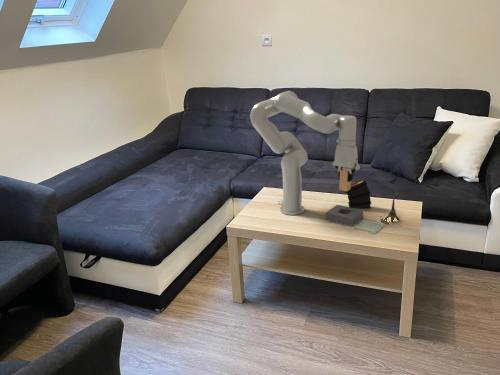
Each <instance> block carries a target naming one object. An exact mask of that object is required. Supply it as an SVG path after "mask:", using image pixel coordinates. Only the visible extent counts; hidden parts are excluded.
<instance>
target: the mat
mask: <svg viewBox="0 0 500 375" xmlns="http://www.w3.org/2000/svg"><path fill="white" fill-rule="evenodd" d="M384 226H385V224H384V223H378V222H373V221H369V220H366V219H364V220H362V221H361V222H360V223H358V225H356V226H355V227H354V229H355V230H356V229H357V230H361V231H363V232H369V233H372V234H374V235H375V234H377V233H378V232H379V231H380V230H381V229H382V228H383V227H384Z"/></svg>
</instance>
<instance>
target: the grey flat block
mask: <svg viewBox="0 0 500 375" xmlns="http://www.w3.org/2000/svg"><path fill="white" fill-rule="evenodd" d="M362 219H364V210H363V209H360V208H350V207H349V206H346V205H341V204H335V206H333V207H331V208H330V209H329V210H327V211H326V212H325V221H329V222H332V223H336V224H341V225H345V226H349V227H353V226H355V225H356V224H358V223H359V221H361V220H362Z"/></svg>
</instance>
